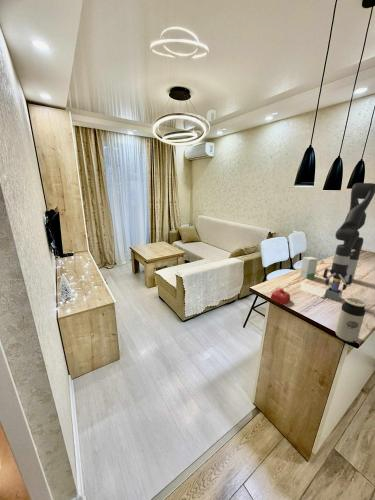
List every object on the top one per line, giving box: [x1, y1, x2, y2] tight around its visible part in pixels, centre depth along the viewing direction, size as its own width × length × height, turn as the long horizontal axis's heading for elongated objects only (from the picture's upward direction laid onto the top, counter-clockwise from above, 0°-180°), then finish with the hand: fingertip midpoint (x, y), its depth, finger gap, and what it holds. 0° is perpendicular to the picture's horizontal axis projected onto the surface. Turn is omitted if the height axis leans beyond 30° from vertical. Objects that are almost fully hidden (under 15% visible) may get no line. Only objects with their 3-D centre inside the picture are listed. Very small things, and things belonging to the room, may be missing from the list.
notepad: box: [299, 281, 327, 300], centre depth 138 cm, size 14×18×1 cm
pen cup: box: [325, 286, 344, 302], centre depth 129 cm, size 7×7×5 cm
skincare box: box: [299, 256, 319, 279], centre depth 158 cm, size 8×7×16 cm
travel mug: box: [335, 296, 367, 343], centre depth 92 cm, size 8×8×18 cm
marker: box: [330, 277, 342, 293], centre depth 127 cm, size 4×4×13 cm
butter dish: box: [269, 288, 291, 305], centre depth 123 cm, size 12×12×8 cm
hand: (335, 287), depth 127 cm, fingers open, 8 cm apart
